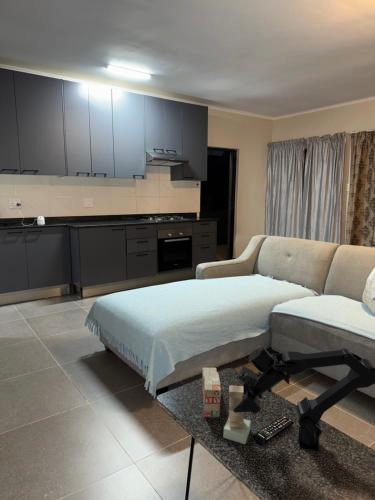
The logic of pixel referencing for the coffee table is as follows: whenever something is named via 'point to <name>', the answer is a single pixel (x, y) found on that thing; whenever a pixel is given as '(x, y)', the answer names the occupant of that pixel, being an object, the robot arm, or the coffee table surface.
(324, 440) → the coffee table surface
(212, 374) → the stack of blocks
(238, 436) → the sage base block
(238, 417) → the maple pillar
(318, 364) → the robot arm
